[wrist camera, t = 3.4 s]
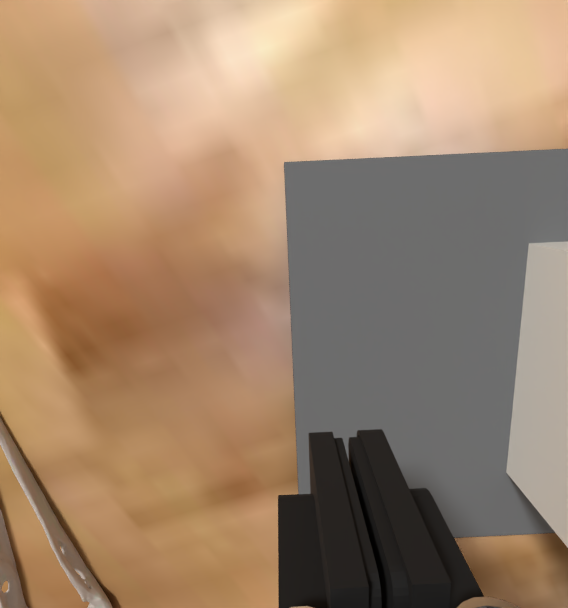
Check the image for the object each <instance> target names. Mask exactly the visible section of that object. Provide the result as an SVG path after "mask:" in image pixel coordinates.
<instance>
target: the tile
mask: <svg viewBox="0 0 568 608" xmlns="http://www.w3.org/2000/svg"><path fill="white" fill-rule="evenodd" d="M506 473H507V474H508V475H509V476H510V478H511V479H512V480H513V481H514V482H515V484H516V485H517V486H518V487H519V489H520V490H521V491H522V492H523V493H524V495H525V496H526V497H527V498H528V500H529V501H530V502H531V503H532V505H533V506H534V507H535V508H536V509H537V511H538V512H539V513H540V514H541V516H542V517H543V518H544V519H545V520H546V522H547V523H548V524H549V525H550V527H551V528H552V529H553V530H554V531H555V533H556V534H557V535H558V536H559V538H560V539H561V540H562V541H563V543H564V544H565V545H566V546H567V547H568V241H567V242H546V243H529V246H528V257H527V267H526V277H525V287H524V297H523V307H522V318H521V328H520V338H519V348H518V358H517V368H516V379H515V389H514V399H513V409H512V419H511V429H510V440H509V450H508V460H507V470H506Z"/></svg>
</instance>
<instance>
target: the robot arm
mask: <svg viewBox="0 0 568 608" xmlns="http://www.w3.org/2000/svg"><path fill="white" fill-rule="evenodd" d="M348 449H349V461H348V457H347V453H346V450H345V446H344V442H343V439H342V438H334V436H333V432H314V433H309V465H310V493H311V494H297V495H278V551H279V608H520V607H518V606H516V605H514V604H512V603H509V602H507V601H505V600H501V599H497V598H492V597H484V596H483V594H482V592H481V590H480V588H479V586H478V584H477V582H476V580H475V578H474V576H473V574H472V572H471V570H470V569H469V567H468V565H467V563H466V561H465V559H464V557H463V555H462V553H461V551H460V549H459V547H458V545H457V543H456V541H455V539H454V537H453V535H452V533H451V532H450V530H449V528H448V526H447V524H446V522H445V520H444V518H443V516H442V514H441V512H440V510H439V508H438V506H437V504H436V502H435V500H434V498H433V496H432V495H431V493H430V492H429V490H428V489H426V488H415V489H409V488H408V485H407V483H406V481H405V479H404V476H403V474H402V472H401V470H400V468H399V465H398V463H397V461H396V459H395V456H394V454H393V452H392V450H391V447H390V445H389V443H388V441H387V438H386V436H385V434H384V432H383V430H382V429H374V430H358V431H357V437H349V442H348Z"/></svg>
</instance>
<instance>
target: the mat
mask: <svg viewBox="0 0 568 608" xmlns="http://www.w3.org/2000/svg"><path fill="white" fill-rule="evenodd" d="M284 173H285V196H286V219H287V241H288V264H289V287H290V310H291V332H292V355H293V378H294V401H295V424H296V446H297V469H298V492H299V494H311V493H310V465H309V433H314V432H333V436H334V438H342V439H343V442H344V446H345V450H346V453H347V457H348V461H349V449H348V442H349V437H357V431H358V430H374V429H382V430H383V432H384V434H385V436H386V438H387V441H388V443H389V445H390V447H391V450H392V452H393V454H394V456H395V459H396V461H397V463H398V465H399V468H400V470H401V472H402V474H403V476H404V479H405V481H406V483H407V485H408V488H409V489H415V488H426V489H428V490H429V492H430V493H431V495H432V496H433V498H434V500H435V502H436V504H437V506H438V508H439V510H440V512H441V514H442V516H443V518H444V520H445V522H446V524H447V526H448V528H449V530H450V532H451V533H452V535H453V537H454V538H460V537H480V536H501V535H521V534H542V533H555V531H554V530H553V529H552V528H551V527H550V525H549V524H548V523H547V522H546V520H545V519H544V518H543V517H542V516H541V514H540V513H539V512H538V511H537V509H536V508H535V507H534V506H533V505H532V503H531V502H530V501H529V500H528V498H527V497H526V496H525V495H524V493H523V492H522V491H521V490H520V489H519V487H518V486H517V485H516V484H515V482H514V481H513V480H512V479H511V478H510V476H509V475H508V474H507V473H506V470H507V460H508V450H509V440H510V429H511V419H512V409H513V399H514V389H515V379H516V368H517V358H518V348H519V338H520V328H521V318H522V307H523V297H524V287H525V277H526V267H527V257H528V246H529V243H546V242H567V241H568V149H552V150H531V151H510V152H489V153H468V154H447V155H426V156H405V157H385V158H364V159H343V160H322V161H301V162H284Z"/></svg>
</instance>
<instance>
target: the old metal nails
mask: <svg viewBox="0 0 568 608" xmlns="http://www.w3.org/2000/svg"><path fill="white" fill-rule="evenodd" d="M0 445H1V447H2V449H3V451H4V453H5V455H6V457H7V460H8V462H9V464H10V466H11V468H12V470H13V472H14V474H15V476H16V478H17V480H18V481H19V483H20V485H21V487H22V489H23V490H24V492H25V494H26V496H27V498H28V500H29V502H30V503H31V505H32V507H33V509H34V511H35V513H36V515H37V517H38V519H39V520H40V522H41V524H42V526H43V528H44V531H45V533H46V535H47V538H48V540H49V542H50V545H51V547H52V549H53V551H54V553H55V555H56V557H57V559H58V561H59V563H60V564H61V566H62V568H63V569H64V571H65V573H66V574H67V576H68V578H69V580H70V582H71V583H72V584H73V586H74V587H75V588H76V589H77V591H78V593H79V595H80V596H81V598H82V601H84V602H85V601H87V602H90V603H89V606H88V608H112V605H111V603H110V601H109V599H108V598H107V596H106V594H105V593H104V591H103V590H102V588H101V587H100V585H99V584H98V582H97V581H96V579H95V578H94V576H93V575H92V574H91V572H90V571H89V569H88V568H87V567H86V565H85V564H84V562H83V560H82V558H81V557H80V555H79V553H78V552H77V550H76V548H75V547H74V545H73V544H72V542H71V540H70V539H69V537H68V536H67V534H66V533H65V531H64V530H63V528H62V526H61V525H60V523H59V521H58V519H57V518H56V516H55V514H54V513H53V511H52V509H51V507H50V505H49V504H48V502H47V500H46V498H45V496H44V494H43V492H42V491H41V489H40V487H39V486H38V484H37V482H36V480H35V479H34V477H33V475H32V473H31V471H30V470H29V468H28V466H27V464H26V463H25V461H24V459H23V457H22V456H21V454H20V452H19V450H18V448H17V446H16V445H15V443H14V441H13V439H12V438H11V436H10V434H9V432H8V430H7V429H6V427H5V425H4V423H3V421H2V419H1V417H0ZM60 546H61V549H62V551H61V549H60ZM75 570H76V571H77V572H78V573H79V575H78V574H77V572H76V571H75ZM80 576H81V577H80ZM5 581H8V590H7V592H5V593H3V592H2V590H1V588H2V585H3V583H4V582H5ZM0 608H28V607H27V606H26V603H25V600H24V597H23V593H22V588H21V583H20V579H19V575H18V572H17V569H16V563H15V559H14V556H13V552H12V549H11V545H10V541H9V538H8V534H7V530H6V527H5V522H4V518H3V515H2V512H1V509H0Z"/></svg>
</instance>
